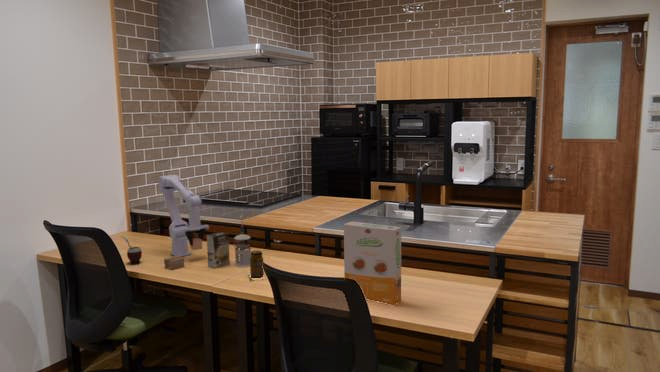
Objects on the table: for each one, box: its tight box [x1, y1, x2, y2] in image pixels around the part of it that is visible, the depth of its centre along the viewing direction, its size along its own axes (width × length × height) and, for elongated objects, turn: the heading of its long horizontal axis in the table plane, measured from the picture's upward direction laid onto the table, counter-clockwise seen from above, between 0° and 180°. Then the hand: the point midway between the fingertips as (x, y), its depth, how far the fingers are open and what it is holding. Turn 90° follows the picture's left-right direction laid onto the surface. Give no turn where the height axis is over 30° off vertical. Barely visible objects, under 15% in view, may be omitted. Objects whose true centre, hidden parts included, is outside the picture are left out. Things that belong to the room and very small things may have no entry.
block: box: [189, 237, 203, 251], centre depth 267 cm, size 4×4×5 cm
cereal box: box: [343, 221, 402, 306], centre depth 206 cm, size 22×6×30 cm, turn 56°
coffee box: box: [206, 231, 231, 269], centre depth 257 cm, size 9×6×16 cm
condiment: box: [248, 250, 265, 281], centre depth 236 cm, size 7×8×12 cm
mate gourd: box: [121, 235, 143, 266], centre depth 263 cm, size 8×8×15 cm
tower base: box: [164, 263, 185, 271], centre depth 255 cm, size 7×7×2 cm
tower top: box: [163, 255, 185, 266], centre depth 255 cm, size 7×7×2 cm
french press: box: [233, 215, 252, 268], centre depth 258 cm, size 10×12×25 cm
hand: (195, 244), depth 267 cm, fingers closed on block, 4 cm apart
